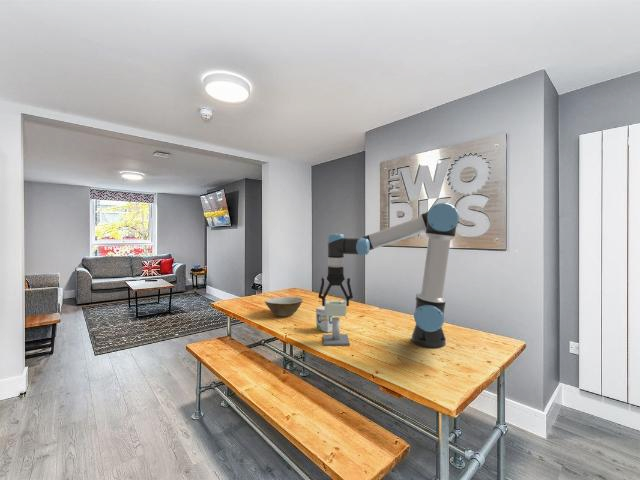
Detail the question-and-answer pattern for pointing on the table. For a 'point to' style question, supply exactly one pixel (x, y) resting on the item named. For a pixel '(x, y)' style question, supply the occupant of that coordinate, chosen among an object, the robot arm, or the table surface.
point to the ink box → (323, 320)
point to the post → (336, 335)
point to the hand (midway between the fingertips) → (335, 312)
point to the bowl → (284, 305)
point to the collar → (335, 308)
